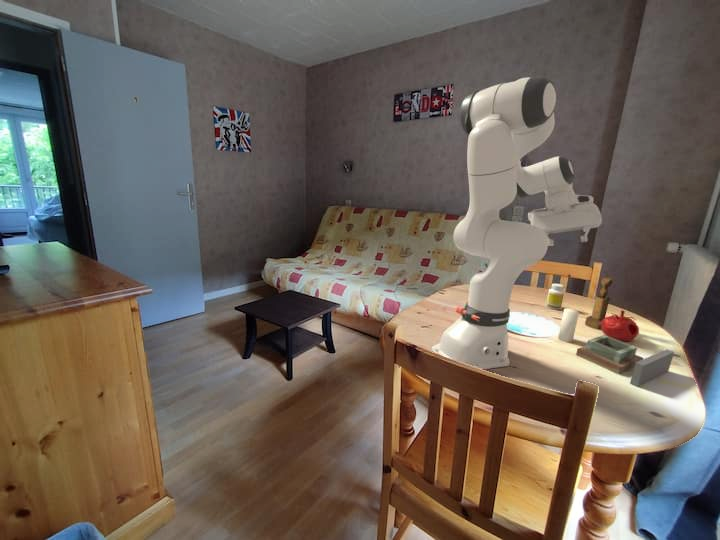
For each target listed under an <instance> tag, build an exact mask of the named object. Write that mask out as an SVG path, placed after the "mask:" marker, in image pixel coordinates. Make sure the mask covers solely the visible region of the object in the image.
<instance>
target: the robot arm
mask: <svg viewBox="0 0 720 540" xmlns="http://www.w3.org/2000/svg"><path fill="white" fill-rule="evenodd" d="M556 103H557V94H556V87H555V84H554V83H553V81H552V80H550V79H549V78H548V77H546V76H532V77H530V76H529V77H528V76H527V77H522V78H519V79H517V80H515V81H514V80H513V81H510V82H501V83H500V84H495V85H492V86H490V87H487V88H484V89H482V90H477V91H473V92H472V93H470V94H468V95H467V96H465V97H464V99H463V101H462V103H461V105H460V107H459V111H458V113H459V114H458V117H459V123H460V127H461V129H462V130H463V132H464V133H465V135H466V136H467V137H468V138H467V139H468V140H467V150H466V152H467V154H466V163H467V164H466V165H467V166H466V167H467V176H468V177H467V178H468V187H469V191H468V193H469V204H468V205H469V206H468V210H467V213H466V214H465V216H464V218H462V220H460V221H459V223H457V225H456V226H455V228H454V231H453V235H452V236H453V243H454V245H455V247H456V248H457V249H458V250H460V251H462V252H464V253H467V254H468V255H470V256H473V257H474V256H475V257H478V258H484V259H487V260H489V264H488V266H487V269H486V270H483V271H479V272H478V273H477V272H476V273H475V274H474V275H473V276H472V277H471V279H470V282H469V289H468V297H467V302H466V304H465V305H464V307H462V306H459V305H458V306H456V308H455V313H457V314H458V315H461V316H460V317H459V318H458V319H456V321H454V323H452V324H451V325H450V326H449V327H448V328H447V329H445V330H444V331H443V333H442V335H441V339H440V342H439V343H436V344H434V345H432V347H431V352H432V351H433V352H435V353H438V354H440V355H442V356H444V357H447V358H450V359H453V360H456V361H460V362H463V363H466V364H469V365H472V366H476V367H478V368H482V369H483V370H490V369H494V368H495V369H497V368H500V367H501V368H503V367H509V366H510V364H511V363H510V359H509V354H508V353H509V332H508V327H507V325H508V323H509V319H510V316H511V315H510V312H511V311H510V310H511V309H510V303H511V296H512V292H513V288H514V285H515V282H516V280H517V279H518V277H519V276H520V275H521V274H522V273H523V272H524V271H525V270H526V269H528V268H530V267H531V266H535V265H536V264H537V263H539V262H540V261H541V260H542V259H543V258H544V257H545V255H546V253H547V251H548V247H550V246H551V247H552V246H553V247H554V245H555V244H554V243H555V242H554V239H551V238H550V237H549V234H557V233H558V234H559V233H565V232H573V231H581V230H582V231H583V232H584V235H580V242H581V243H585V242H586V243H587V242H588V239H589V238H588V234H589V232H590V231H591V229H596V228H599V227H600V226H602V225H601V224H602V223H603V218H602V214H601V212H600V209H599V207H598V205H596V204H595V203H594V197H593V196H592V195H584V194H583V195H582V194H577V193H576V192H575V191H574V189H573V186H574V185H573V182H574V181H575V179H576V176H575V171H574V164H573V161H572V160H571V159H569V158H568V157H566V156H563V155H559V156H553V157H550V158H548V159H545V160H543V161H539V162H537V163H534V164H532V165H528V166H522V163H521V159H522V158H523V157H524V156H525V155H527V154H528V153H530V152H531V151H533V150H535V149H537V148H539V147H540V146H541V145H542V144H544V143H545V142H546V141H547V139H548V138H549V137H550V136H551V134H552V132H553V131H554V127H555V124H556V118H555V113H554V112H555V111H554V110H555V107H556ZM541 192H542V193H543V192H544V194H545V197H544V201H545V202H544V203H545V207H542V208H538V209H535V208H534V209H531V211H529V212H528V214H527V220H528V221H529V222H530V223H527V222H521V221H512V220H503V219H501V218H500V210H502V209H504V208H505V207H507V206H509V205H510V204H511V203H513V201H514V200H515V198H516V197H517V198H520V199H525V198H527V197H530V196H533V195H535V194H539V193H541ZM433 352H432V353H433Z"/></svg>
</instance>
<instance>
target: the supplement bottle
mask: <svg viewBox="0 0 720 540" xmlns="http://www.w3.org/2000/svg"><path fill="white" fill-rule="evenodd" d="M564 295H565V292H564V285H563V284H560V283H552V284H551V288H549V289H548V292H547V298H546V302H545V307H546V308H548V309H551V310H561V309H562V304H563V299H564Z"/></svg>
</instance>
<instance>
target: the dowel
mask: <svg viewBox="0 0 720 540" xmlns="http://www.w3.org/2000/svg"><path fill="white" fill-rule="evenodd" d="M579 313H580V312H579V311H578V310H577V309H573V308H564V309H563V314H562V316H561V317H562V318H561V323H560V328H559V331H558V332H559V333H558V340H560V341H561V342H564V343H573V342H574V337H575V333H576V327H577V324H578V323H577V322H578V319H579Z"/></svg>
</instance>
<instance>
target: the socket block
mask: <svg viewBox="0 0 720 540" xmlns="http://www.w3.org/2000/svg"><path fill="white" fill-rule="evenodd" d="M637 350H638V347H637V346H634V345H631V344H630V343H627V342H625V341H620V340H616V339H614V338H611V337H608V336H606V335H605V334H603V335H600V336H597V337H592V338H591V339H588V340H587V341H586V345H584V346H581V347H579V348H577V349H576V353H575V355H576V356H577V357H580V358H582V359H584V360H587V361H589V362H590V363H592V364H596V365H598V366H600V367H602V368H603V369H607V370H608V371H610V372H613V373H614V374H617V375H620V374H622V373H624V372H627V371H630V370H631V369H634V367H635V363H636V362H638V361H640V360H643V359H644V357H642V356H639V355H637V354H636V353H637Z"/></svg>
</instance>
